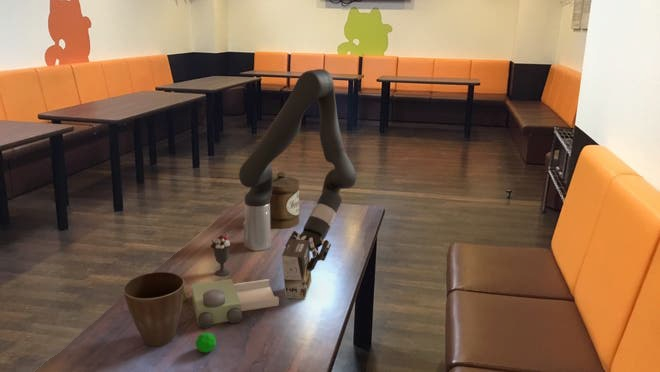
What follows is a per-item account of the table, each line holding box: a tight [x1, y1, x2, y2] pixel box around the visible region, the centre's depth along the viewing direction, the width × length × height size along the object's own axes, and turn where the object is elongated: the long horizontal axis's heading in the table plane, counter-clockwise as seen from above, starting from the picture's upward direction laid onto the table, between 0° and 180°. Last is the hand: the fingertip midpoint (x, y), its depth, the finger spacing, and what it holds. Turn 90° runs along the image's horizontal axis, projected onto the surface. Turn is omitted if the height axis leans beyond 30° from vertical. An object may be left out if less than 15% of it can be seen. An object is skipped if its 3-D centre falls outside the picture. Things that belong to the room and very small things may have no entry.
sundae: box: [210, 229, 232, 277], centre depth 180 cm, size 7×7×15 cm
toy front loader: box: [191, 278, 280, 329], centre depth 160 cm, size 19×24×7 cm
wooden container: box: [270, 171, 300, 229], centre depth 226 cm, size 15×15×22 cm
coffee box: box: [281, 238, 313, 301], centre depth 165 cm, size 9×6×16 cm
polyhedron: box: [195, 331, 217, 353], centre depth 138 cm, size 5×5×5 cm
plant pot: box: [122, 271, 185, 347], centre depth 141 cm, size 15×15×16 cm
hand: (297, 266), depth 166 cm, fingers closed on coffee box, 8 cm apart
